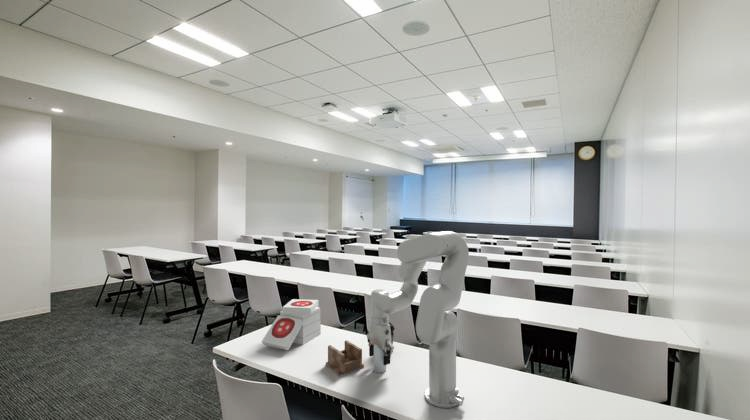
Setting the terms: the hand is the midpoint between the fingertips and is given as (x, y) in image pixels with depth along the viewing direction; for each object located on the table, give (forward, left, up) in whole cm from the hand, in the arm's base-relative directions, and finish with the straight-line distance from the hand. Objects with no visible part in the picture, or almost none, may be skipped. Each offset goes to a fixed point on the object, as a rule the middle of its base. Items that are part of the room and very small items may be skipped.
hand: (379, 359), depth 139 cm
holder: (+12, +10, -4) cm, 16 cm away
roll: (0, 0, -4) cm, 4 cm away
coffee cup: (+12, -13, -4) cm, 18 cm away
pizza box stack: (+51, +16, -4) cm, 53 cm away
